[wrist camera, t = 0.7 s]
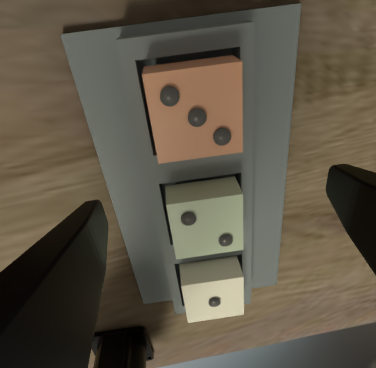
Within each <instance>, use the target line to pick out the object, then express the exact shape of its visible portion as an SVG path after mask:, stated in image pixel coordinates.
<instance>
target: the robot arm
mask: <svg viewBox="0 0 376 368" xmlns="http://www.w3.org/2000/svg"><path fill="white" fill-rule="evenodd" d="M326 193H327V196H328V198H329V200H330V202H331V204H332V206H333V208H334V209H335V211H336V213H337V215H338V217H339V219H340V221H341V223H342V225H343V227H344V228H345V230H346V232H347V234H348V235H349V237H350V238H351V240H352V241H353V243H354V244H355V246H356V247H357V249H358V250H359V252H360V253H361V254H362V256H363V257H364V259H365V260H366V262H367V263H368V265H369V266H370V268H371V269H372V271H373V272H374V273H375V275H376V173H375V172H372V171H368V170H365V169H361V168H358V167H355V166H351V165H348V164H338V165H333V166H331V167H330V169H329V172H328V178H327V184H326ZM107 241H108V221H107V218H106V215H105V212H104V209H103V206H102V203H101V202H100V201H99V200H92V201H86V202H85V203H83V204H82V205H81V206H80V207H79V208H77V209H76V210H75V211H74V212H73V213H71V214H70V215H69V216H68V217H66V218H65V219H64V220H63V221H62V222H60V223H59V224H58V225H57V226H56V227H54V228H53V229H52V230H51V231H50V232H48V233H47V234H46V235H45V236H44V237H42V238H41V239H40V240H39V241H38V242H36V243H35V244H34V245H33V246H32V247H30V248H29V249H28V250H27V251H25V252H24V253H23V254H22V255H21V256H19V257H18V258H17V259H16V260H15V261H13V262H12V263H11V264H10V265H9V266H7V267H6V268H5V269H4V270H3V271H1V272H0V368H88V364H89V358H90V353H91V349H92V350H93V352H94V354H95V362H94V367H93V368H146V361H148V360H152V359H153V358H154V354H153V351H152V348H151V345H150V342H149V339H148V336H147V333H146V330H145V328H144V327H136V328H129V329H122V330H116V331H109V332H102V333H96V334H94V331H95V326H96V321H97V315H98V310H99V304H100V299H101V294H102V288H103V283H104V277H105V271H106V258H107Z"/></svg>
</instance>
